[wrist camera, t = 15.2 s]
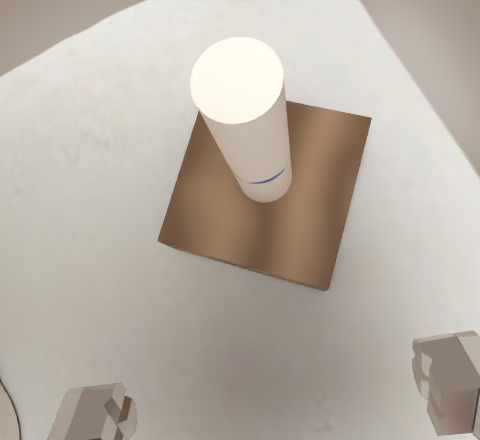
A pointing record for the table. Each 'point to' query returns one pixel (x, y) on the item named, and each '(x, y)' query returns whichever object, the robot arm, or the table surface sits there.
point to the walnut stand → (276, 212)
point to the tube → (246, 113)
